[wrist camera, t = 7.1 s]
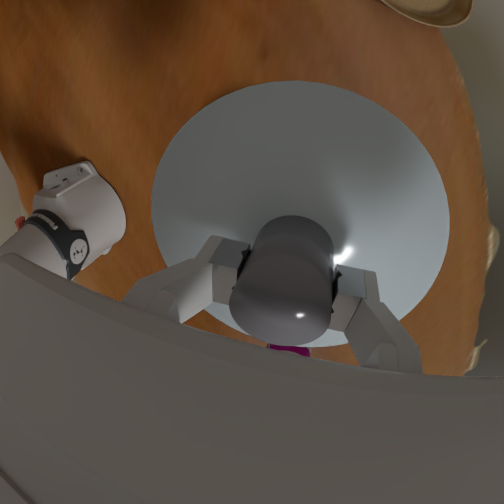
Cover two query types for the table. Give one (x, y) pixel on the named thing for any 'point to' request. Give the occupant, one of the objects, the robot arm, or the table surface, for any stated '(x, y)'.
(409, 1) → the plant saucer
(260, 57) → the table surface
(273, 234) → the lid
